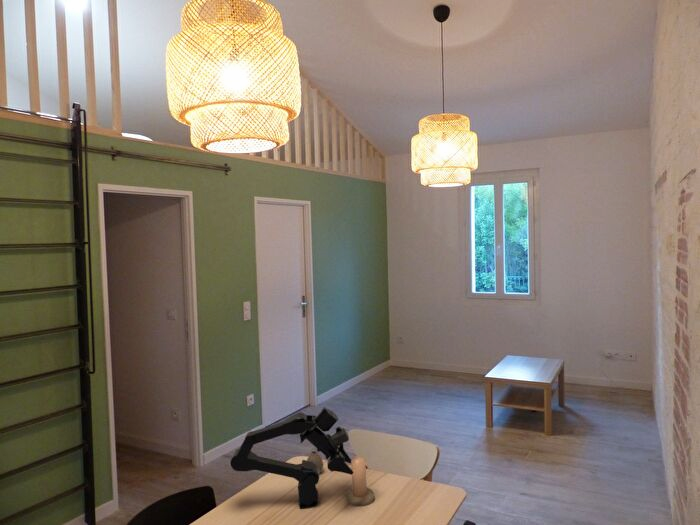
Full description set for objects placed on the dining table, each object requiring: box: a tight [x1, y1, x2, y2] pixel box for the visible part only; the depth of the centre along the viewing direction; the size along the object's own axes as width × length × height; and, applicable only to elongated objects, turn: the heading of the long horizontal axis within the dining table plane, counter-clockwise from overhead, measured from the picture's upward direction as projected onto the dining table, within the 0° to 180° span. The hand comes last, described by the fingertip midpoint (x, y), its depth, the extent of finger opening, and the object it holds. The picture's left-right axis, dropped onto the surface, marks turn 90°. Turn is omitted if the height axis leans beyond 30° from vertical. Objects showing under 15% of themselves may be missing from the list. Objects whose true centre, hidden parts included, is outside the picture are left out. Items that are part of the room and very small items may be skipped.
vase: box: [306, 450, 324, 475], centre depth 214 cm, size 7×7×9 cm
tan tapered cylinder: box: [350, 455, 368, 497], centre depth 190 cm, size 5×5×13 cm
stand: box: [346, 487, 375, 507], centre depth 190 cm, size 10×10×2 cm
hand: (352, 467), depth 190 cm, fingers open, 9 cm apart
